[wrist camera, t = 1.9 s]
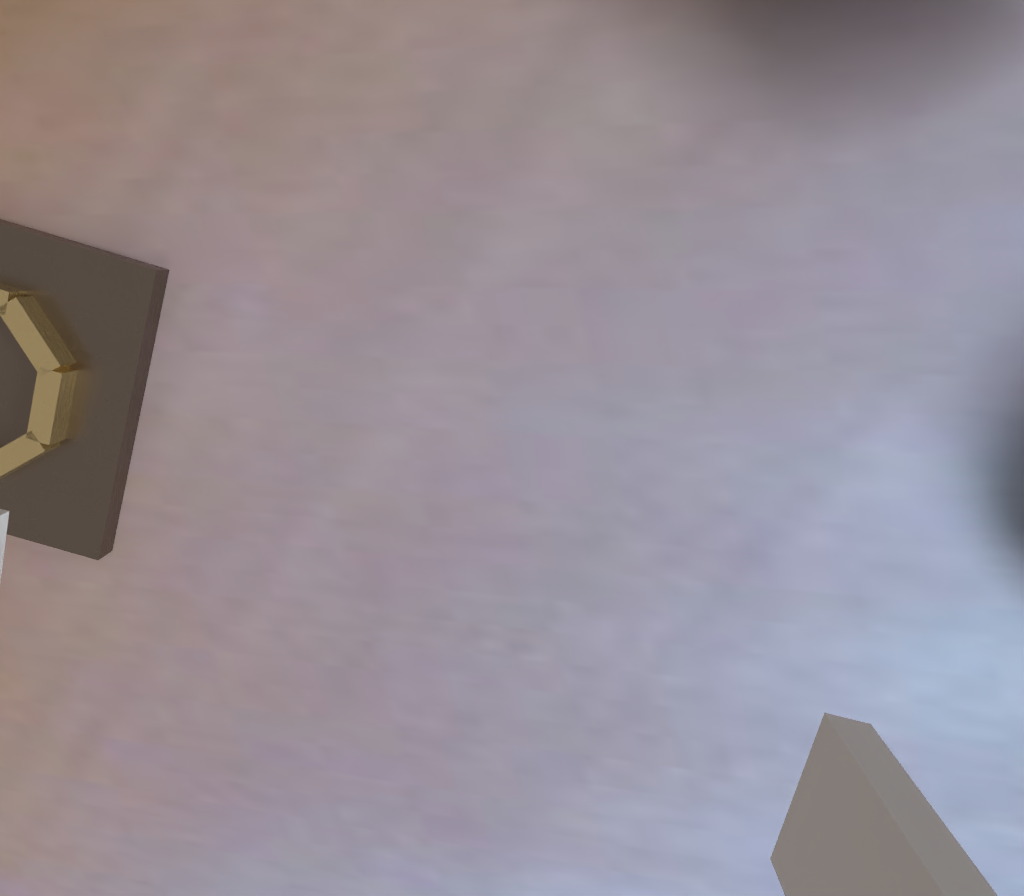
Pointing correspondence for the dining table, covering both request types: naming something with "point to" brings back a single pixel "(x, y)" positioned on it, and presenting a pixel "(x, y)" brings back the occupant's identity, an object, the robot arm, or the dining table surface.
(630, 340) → the dining table surface
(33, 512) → the lamp base
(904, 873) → the robot arm
